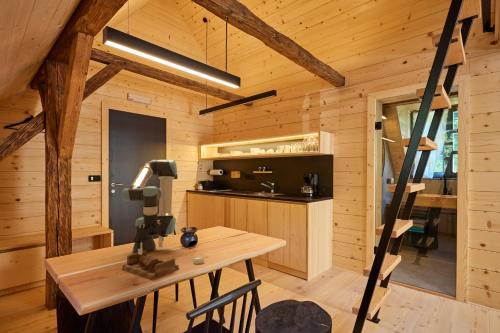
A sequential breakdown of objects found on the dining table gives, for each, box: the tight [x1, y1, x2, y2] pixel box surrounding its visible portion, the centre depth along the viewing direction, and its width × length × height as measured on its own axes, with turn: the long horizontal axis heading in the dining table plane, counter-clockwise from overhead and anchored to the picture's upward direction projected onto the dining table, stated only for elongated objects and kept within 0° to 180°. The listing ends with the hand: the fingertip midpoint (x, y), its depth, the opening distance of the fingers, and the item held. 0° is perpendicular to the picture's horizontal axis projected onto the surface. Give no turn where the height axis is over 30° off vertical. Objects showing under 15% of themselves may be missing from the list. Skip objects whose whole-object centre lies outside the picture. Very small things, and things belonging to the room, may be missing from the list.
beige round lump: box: [192, 255, 205, 265], centre depth 163 cm, size 6×6×3 cm
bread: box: [139, 255, 159, 270], centre depth 153 cm, size 6×19×6 cm, turn 43°
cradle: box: [121, 250, 180, 281], centre depth 152 cm, size 27×18×7 cm, turn 57°
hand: (150, 250), depth 153 cm, fingers open, 13 cm apart
